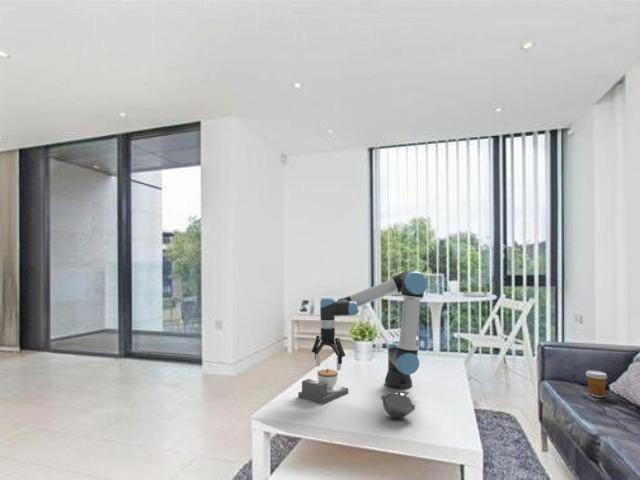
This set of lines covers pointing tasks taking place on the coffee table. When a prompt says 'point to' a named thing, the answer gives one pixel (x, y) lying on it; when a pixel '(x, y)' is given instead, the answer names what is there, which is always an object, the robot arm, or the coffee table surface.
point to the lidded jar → (328, 377)
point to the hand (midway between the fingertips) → (328, 368)
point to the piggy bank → (397, 404)
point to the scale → (320, 391)
